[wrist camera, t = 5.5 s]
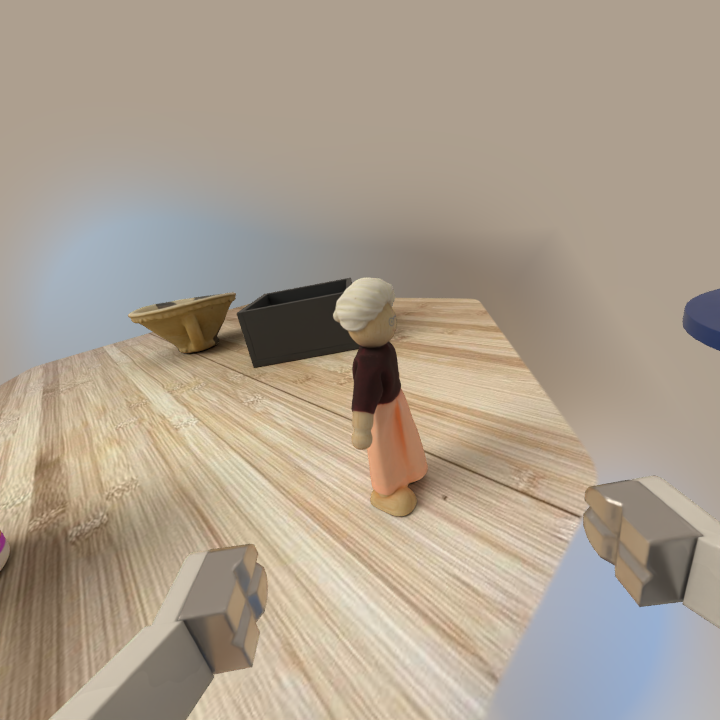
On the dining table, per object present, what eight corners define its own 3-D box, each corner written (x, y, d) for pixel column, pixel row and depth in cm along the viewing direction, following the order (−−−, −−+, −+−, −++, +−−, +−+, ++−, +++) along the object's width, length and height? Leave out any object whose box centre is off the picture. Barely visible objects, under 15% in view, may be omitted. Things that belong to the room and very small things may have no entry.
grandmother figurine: (436, 530, 17) (403, 283, 13) (362, 534, 18) (307, 299, 13) (424, 441, 24) (400, 263, 20) (372, 446, 25) (338, 274, 20)
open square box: (358, 321, 61) (350, 277, 58) (362, 348, 46) (351, 291, 44) (276, 336, 62) (264, 294, 59) (253, 367, 47) (236, 313, 44)
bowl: (255, 343, 60) (238, 290, 56) (143, 375, 53) (117, 318, 50) (243, 327, 75) (229, 285, 72) (155, 351, 69) (136, 305, 65)
